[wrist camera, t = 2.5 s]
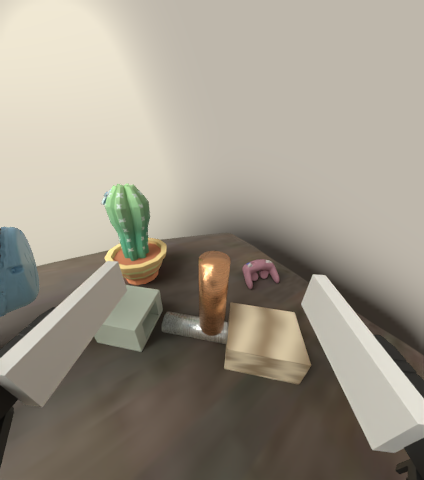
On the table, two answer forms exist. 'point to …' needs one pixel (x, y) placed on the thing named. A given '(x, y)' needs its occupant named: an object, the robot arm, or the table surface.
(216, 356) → the table surface
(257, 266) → the video game controller
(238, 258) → the table surface
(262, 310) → the block
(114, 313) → the socket block
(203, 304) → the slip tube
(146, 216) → the potted cactus
